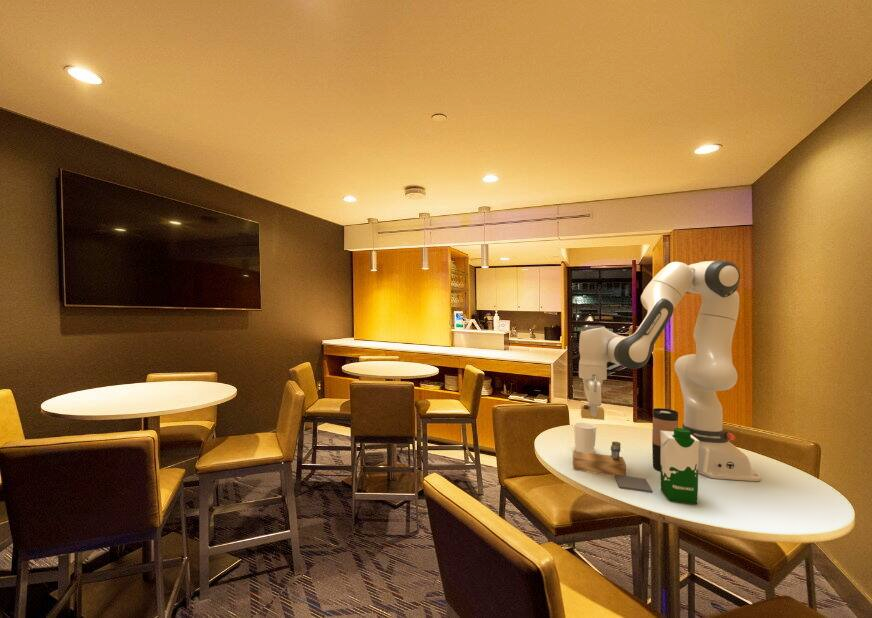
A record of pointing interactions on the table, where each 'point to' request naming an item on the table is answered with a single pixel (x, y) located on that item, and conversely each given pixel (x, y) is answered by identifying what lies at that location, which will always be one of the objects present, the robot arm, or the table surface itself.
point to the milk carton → (679, 466)
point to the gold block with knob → (586, 412)
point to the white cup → (584, 437)
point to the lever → (615, 449)
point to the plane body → (599, 463)
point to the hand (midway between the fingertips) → (592, 413)
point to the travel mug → (661, 422)
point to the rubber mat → (633, 483)
